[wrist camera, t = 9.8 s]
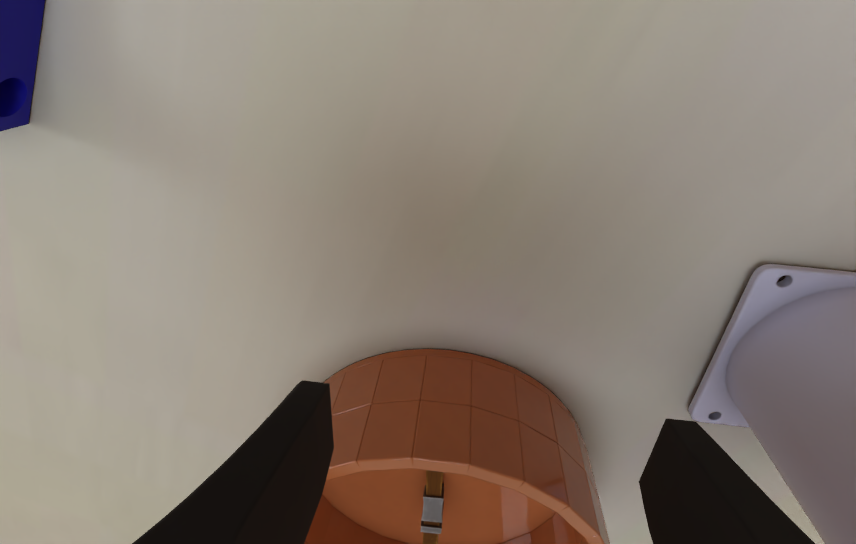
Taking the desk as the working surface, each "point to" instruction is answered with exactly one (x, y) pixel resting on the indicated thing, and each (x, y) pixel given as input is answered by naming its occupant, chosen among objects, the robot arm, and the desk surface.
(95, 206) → the desk surface
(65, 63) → the desk surface
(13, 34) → the cable clip
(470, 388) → the orange brown bowl
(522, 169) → the desk surface
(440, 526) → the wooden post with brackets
